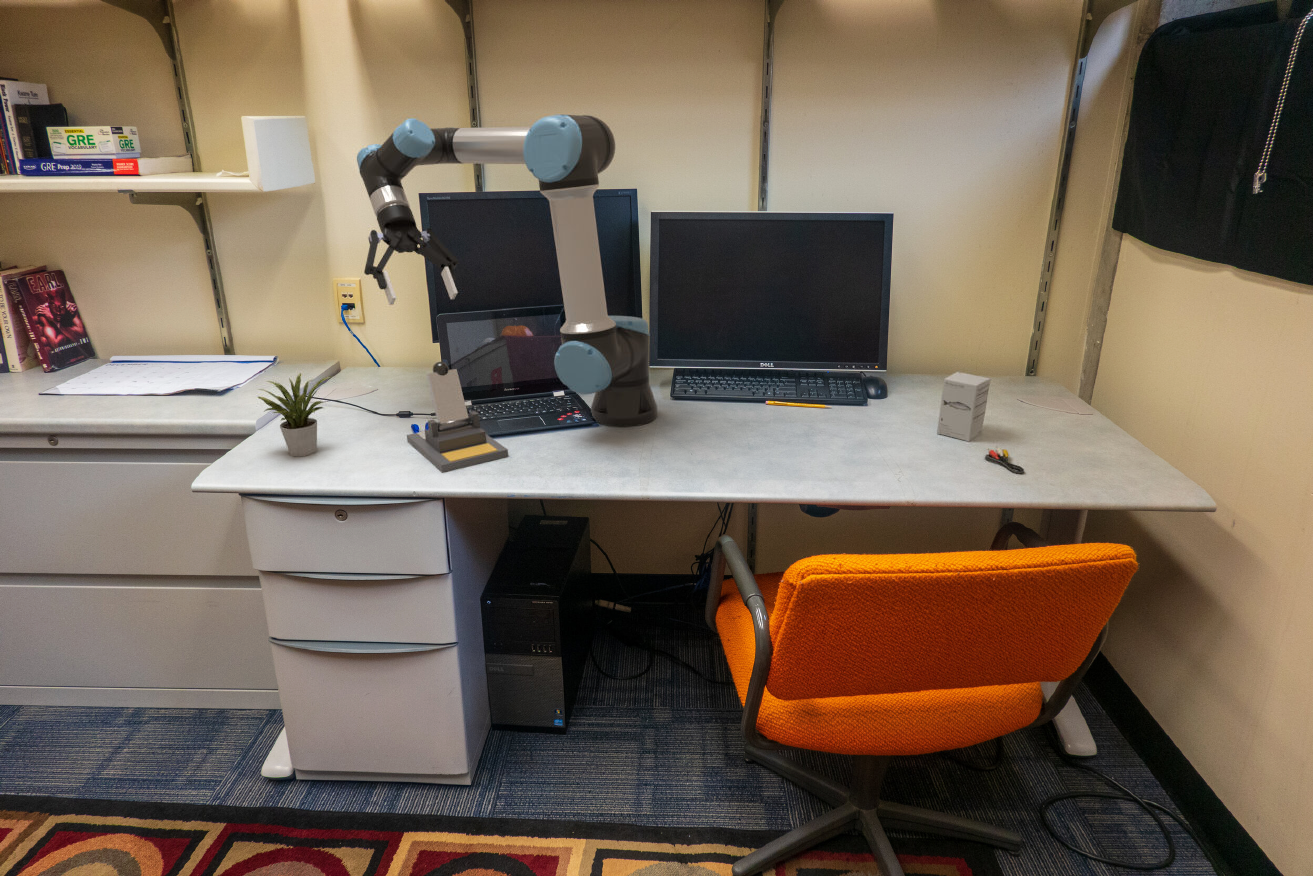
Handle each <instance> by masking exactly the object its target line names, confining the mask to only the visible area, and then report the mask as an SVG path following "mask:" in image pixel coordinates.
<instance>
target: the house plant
mask: <svg viewBox="0 0 1313 876" xmlns="http://www.w3.org/2000/svg"><path fill="white" fill-rule="evenodd" d="M301 377H302V373H301V372H300V373H299V374H298V375H297V376H296V379H295V382H293V381H292V380H291V379H290V378H288V379H289V382H290V387H291V393H292V395H291V393H290V392H289V391H288V389H287V388H286V387H284V386H283V385H282V384H281V383H279V382H277V381H275V380H274V379H272V381H270V380H267V382H268V383H270V384H273V386H275V387H276V388H277V389H278V390H279V391H280V392H281V394H282V396H283V397H282V396H280V395H275V394H274V393H272V392H271V391H268V390H265V389H263V388H262V389H261V388H258V390H259V391H263V392H264V393H268V394H269V395H271V396H272V397H274V399H276V400H277V401H279V403H281V405H280V404H279V403H277V402H275V401H273V400H271V399H269V398H266V397H264V396H256V398H258V399H260V400H261V401H263V402H264V404H266V406H267V405H268V406H269V407H267V408H266V409H264V412H266V411H272V413H273V414H280V415H282V416H283V417H281V419H280V421H279V422H281V424H280V425H279V428H280V431H281V434H282V436H283V439H284V442H285V444H286V447H287V449H288V452H289V454H290V456H293V457H305V456H309V455H312V454H314V453H316V452H317V450H318V420H317V419H316V418H314V417H310V415H312V413H313V414H315V412H316V411H318V410H321V409H326V408H325V407H323V406H318V405H320V404H324V403H325V401H324V402H323V401H319V400H318V401H314V402H313V403H312V404H311V405H310V406H309V404H310V402H311V399H313V397H314V396H315V394H316V393H317V391H318V390H319V388H318V387H319V385H320V384H322V383H323V381H325V380H327V379H330V378H332V377H333V375H332V376H327V377H324V378H321V379H320V380H318V381H317V382H316V383H315V384H314V386H312V388H311V390H310V391H309V392H308V394H307V391H308V389H309V388H308V387H309V383H310V382H312V381H313V379H310V380H307V381H306V382H305V384H304V386H303V390H302V394H301V382H302V378H301ZM292 396H293V397H292ZM282 405H283V406H284V407H283V406H282ZM308 406H309V407H308ZM282 421H283V422H282Z"/></svg>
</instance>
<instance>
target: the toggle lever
mask: <svg viewBox="0 0 1313 876" xmlns="http://www.w3.org/2000/svg"><path fill="white" fill-rule="evenodd" d="M426 381H427V384H428V387H429V388H428V389H429V392H430V397H431V401H432V403H433V405H432V406H433V408H434V411H435V417H436V422H437V427H438V432H443V431H447V430H452V429H457V428H461V427H466V426H471V425H472V419H471V417H470V415H469V414H468V410H467V405H466V402H465V399H464V395H463V391H462V390H463V389H462V385H461V381H460V378H459V374H458V370H457V368H455V369H454V368H453V369H450V368H449V365H448V364H447V363H446V362H444V361H437V362H435V364H434V365H433V366H432V372H430V373H427V374H426Z"/></svg>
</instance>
